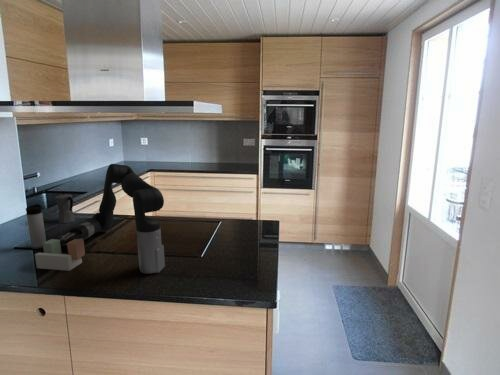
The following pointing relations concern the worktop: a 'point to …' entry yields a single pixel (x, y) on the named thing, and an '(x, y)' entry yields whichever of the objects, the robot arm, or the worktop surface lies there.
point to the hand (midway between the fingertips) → (56, 245)
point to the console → (56, 261)
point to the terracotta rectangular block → (76, 248)
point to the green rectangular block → (52, 246)
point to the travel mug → (36, 226)
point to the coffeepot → (65, 208)
